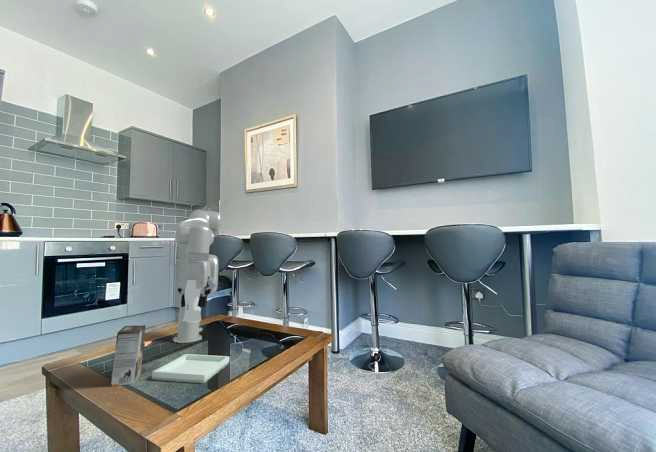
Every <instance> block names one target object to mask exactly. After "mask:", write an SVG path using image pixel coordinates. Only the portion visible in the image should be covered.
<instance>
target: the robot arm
mask: <svg viewBox="0 0 656 452" xmlns="http://www.w3.org/2000/svg"><path fill="white" fill-rule="evenodd" d="M222 221H223V219H222V215H221V213H219V212H218V211H212V210H205V209H204V210H203V209H197V210H193V211H192V212H191V213H190V214H189V218H188V219H186V220H182V221H180V222H179V223H178V224H177V226H176V229H175V234H174V240H175V242H176V244H177V245H179V246H186V251H185V255H184V256H183V258H184V259H185V261H184V262H183V264H182V267H181V270H180V275H179V276H180V277H179V280H178V281H177V282H176V283H175V284H174V287H175V289H176V290H177V292H178V293H179V295H180V297H179V298H180V299H179V300H180V301H179V312H178V321H177V323H178V324H177V332H176V333H177V334H176V336H177V337H176V336H174V337H173V338H172V342H174V343H176V342H177V344H187V343H194V342H198V341H200V340H202V338H203V336H202V335H201V334H199V333H200V332H202V331H203V327H200V322H201V321H199V322H183V318H184V315H185V300H184V291H185V288H186V283H187V280H196V288H197V289H201V294H202V296H201V297H200V306H199V307H200V308H201V309H202V308H206V306H207V303H208V296H209V295H210V294H215V293H216V292H217V290H218V284H219V258H218V256H217V255H216V254H215V255H214V254H210V246H212V244H213V243H214V241H215V237H217V236H218V235H219V233H220V230H221V226H222ZM204 289H205V291H204ZM201 337H202V338H201Z"/></svg>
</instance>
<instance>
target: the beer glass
mask: <svg viewBox="0 0 656 452" xmlns="http://www.w3.org/2000/svg"><path fill="white" fill-rule="evenodd" d="M204 291H205V289H204ZM201 296H202V294H201V289H197V288H196V280H187V283H186V288H185V291H184V300H185V315H184V318H183V322H199V321H200V322H201V321H202V313H201V312H202V308H200V307H199V306H200V297H201ZM200 322H199V323H200Z"/></svg>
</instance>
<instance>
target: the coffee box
mask: <svg viewBox="0 0 656 452" xmlns="http://www.w3.org/2000/svg"><path fill="white" fill-rule="evenodd" d="M146 327H147V326H146V325H125V326H123V327H122V328H121V329H120V330H119V331H118V332H117V333H116V341H115V348H114V358H113V364H112V365H113V366H112V371H111V372H112V374H111V382H110V385H111V384H119V386H124V385H125V386H126V385H134V384H135V383H136V381H137V380H138V378H139V377H140V375H141V373H142V366H143V365H142V364H143V357H144V356H143V354H144V346H145V335H146Z"/></svg>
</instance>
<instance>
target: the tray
mask: <svg viewBox="0 0 656 452" xmlns="http://www.w3.org/2000/svg"><path fill="white" fill-rule="evenodd" d="M229 364H230V356H227V355H212V354H211V355H208V354H196V353H195V354H193V353H192V354H191V353H185V354H183V355H181V356H179V357H178V358H177V357H176V358H175V359H173V360H172V361H170V362H167V363H165V364H164V365H162V366H160V367H159V368H156V369H155V370H152V371H151V372H152V373H151V381H163V382H178V383H193V384H194V383H195V384H206V383H207V382H208V381H209V380H211V378H213V377H214V376H215V375H216V374H217V373H219V372H220V371H221V370H223V369H224V368H225V367H226V366H228V365H229Z"/></svg>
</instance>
